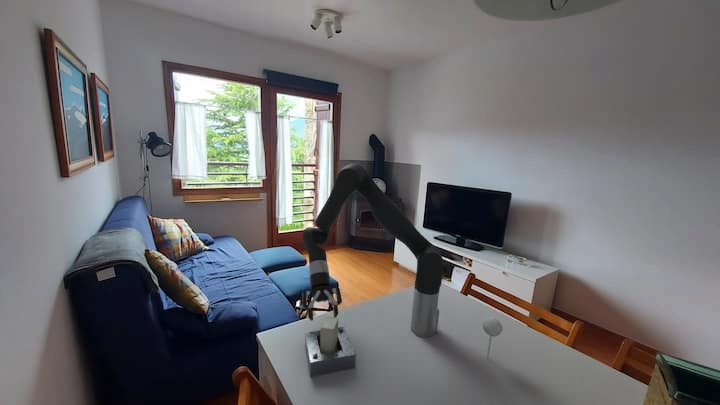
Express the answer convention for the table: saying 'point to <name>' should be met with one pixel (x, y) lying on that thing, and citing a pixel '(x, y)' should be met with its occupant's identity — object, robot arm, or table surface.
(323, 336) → the skincare box
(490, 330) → the lollipop
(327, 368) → the housing
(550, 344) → the table surface
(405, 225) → the robot arm
